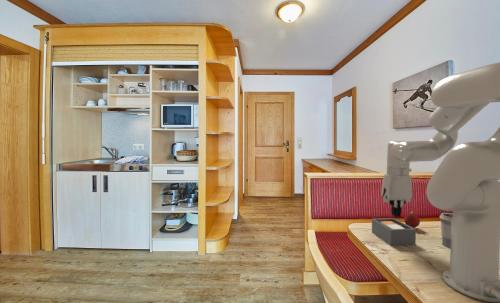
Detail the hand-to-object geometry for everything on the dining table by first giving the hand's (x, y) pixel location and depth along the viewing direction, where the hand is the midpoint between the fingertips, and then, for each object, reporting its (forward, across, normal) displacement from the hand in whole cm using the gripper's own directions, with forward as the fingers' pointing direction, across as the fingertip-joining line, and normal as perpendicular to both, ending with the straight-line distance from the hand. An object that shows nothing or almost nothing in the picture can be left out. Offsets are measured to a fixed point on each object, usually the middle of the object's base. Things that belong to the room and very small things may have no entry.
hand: (396, 215), depth 90 cm
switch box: (+10, 0, -2) cm, 11 cm away
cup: (+10, -18, +6) cm, 21 cm away
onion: (+11, -16, -11) cm, 22 cm away
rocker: (+5, 0, -2) cm, 6 cm away
